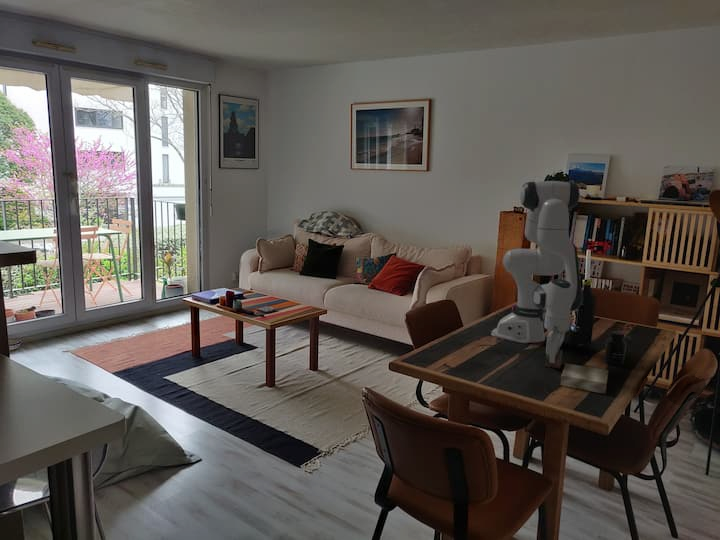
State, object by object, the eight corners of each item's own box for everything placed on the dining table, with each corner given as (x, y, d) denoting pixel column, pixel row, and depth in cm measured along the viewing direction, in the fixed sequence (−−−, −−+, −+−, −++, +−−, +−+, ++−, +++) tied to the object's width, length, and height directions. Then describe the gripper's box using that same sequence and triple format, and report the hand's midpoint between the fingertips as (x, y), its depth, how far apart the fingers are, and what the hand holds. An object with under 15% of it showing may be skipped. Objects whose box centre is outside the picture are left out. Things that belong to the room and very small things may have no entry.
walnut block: (544, 366, 203) (546, 351, 202) (547, 362, 208) (548, 347, 206) (559, 369, 201) (560, 353, 200) (560, 365, 205) (562, 349, 204)
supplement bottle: (615, 367, 205) (619, 336, 203) (600, 361, 211) (603, 331, 208) (627, 364, 208) (631, 334, 206) (612, 358, 214) (615, 329, 212)
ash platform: (560, 386, 185) (561, 375, 185) (564, 373, 198) (565, 363, 197) (605, 395, 179) (606, 383, 178) (607, 381, 192) (608, 370, 191)
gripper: (562, 332, 191) (558, 369, 193) (569, 319, 209) (565, 353, 211) (543, 329, 194) (539, 366, 196) (552, 316, 212) (548, 350, 214)
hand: (553, 359), depth 204 cm, fingers open, 5 cm apart
